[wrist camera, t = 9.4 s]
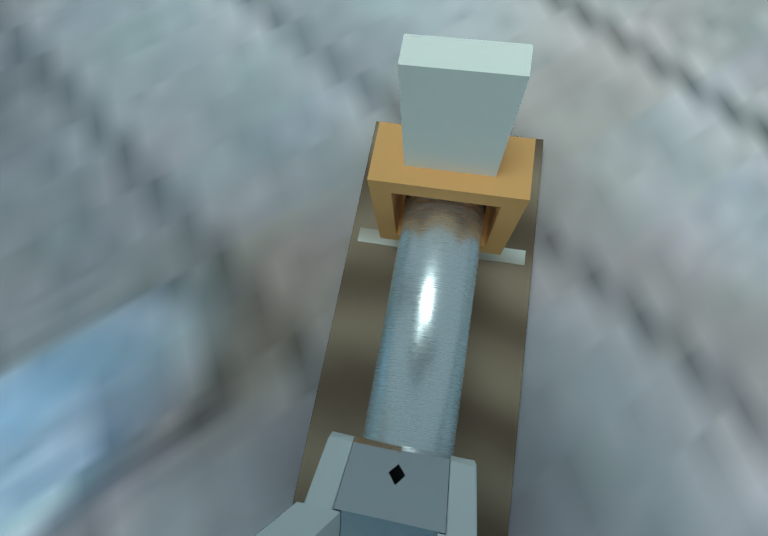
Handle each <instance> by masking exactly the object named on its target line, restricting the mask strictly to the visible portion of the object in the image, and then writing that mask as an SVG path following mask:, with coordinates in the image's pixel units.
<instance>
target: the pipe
mask: <svg viewBox="0 0 768 536" xmlns="http://www.w3.org/2000/svg"><path fill="white" fill-rule="evenodd" d="M405 203H406V205H405V210H404V215H403V221H402V226H401V232H400V237H399V242H398V248H397V253H396V259H395V264H394V269H393V275H392V280H391V286H390V291H389V297H388V302H387V307H386V313H385V318H384V324H383V329H382V334H381V340H380V345H379V351H378V356H377V361H376V367H375V372H374V378H373V383H372V388H371V394H370V399H369V405H368V410H367V416H366V421H365V426H364V432H363V437H362V438H366V439H370V440H375V441H379V442H383V443H388V444H392V445H396V446H400V447H402V446H405V447H411V448H416V449H421V450H427V451H432V452H437V453H443V454H448V455H449V457H450V456H453V455H454V447H455V439H456V432H457V424H458V416H459V408H460V400H461V392H462V384H463V377H464V369H465V361H466V353H467V345H468V337H469V329H470V322H471V314H472V306H473V298H474V290H475V282H476V274H477V266H478V259H479V251H480V243H481V235H482V227H483V219H484V214H485V211H486V205H479V204H471V203H464V202H456V201H448V200H441V199H433V198H425V197H418V196H410V195H406V199H405Z"/></svg>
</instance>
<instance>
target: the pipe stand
mask: <svg viewBox="0 0 768 536" xmlns="http://www.w3.org/2000/svg"><path fill="white" fill-rule="evenodd" d="M378 127H379V122H377V121H376V126H375V131H374V135H373V140H372V144H371V149H370V153H369V158H368V163H367V167H366V172H365V176H364V181H363V185H362V190H361V195H360V199H359V204H358V208H357V213H356V217H355V222H354V226H353V231H352V236H351V240H350V245H349V249H348V254H347V258H346V263H345V268H344V272H343V277H342V281H341V286H340V290H339V295H338V300H337V304H336V309H335V313H334V318H333V322H332V327H331V332H330V336H329V341H328V345H327V350H326V354H325V359H324V364H323V368H322V373H321V377H320V382H319V386H318V391H317V396H316V400H315V405H314V409H313V414H312V418H311V423H310V427H309V432H308V437H307V441H306V446H305V450H304V455H303V459H302V464H301V469H300V473H299V478H298V482H297V487H296V491H295V496H294V501H293V504H295V503H296V502H301V503H304V502H305V499H306V496H307V494H308V491H309V488H310V485H311V483H312V480H313V477H314V475H315V472H316V469H317V467H318V464H319V461H320V458H321V456H322V453H323V450H324V448H325V445H326V442H327V440H328V437H329V436H330V434H331V433H332V431H334V432H338V433H343V434H348V435H352V436H357V437H363V432H364V426H365V421H366V416H367V410H368V405H369V399H370V394H371V388H372V383H373V378H374V372H375V367H376V361H377V356H378V351H379V345H380V340H381V334H382V329H383V324H384V318H385V313H386V307H387V302H388V297H389V291H390V286H391V280H392V275H393V269H394V264H395V259H396V253H397V248H398V242H399V240H392V239H385V238H380V233H379V229H378V225H377V220H376V216H375V212H374V207H373V203H372V199H371V194H370V190H369V186H368V181H367V177H368V173H369V168H370V164H371V159H372V154H373V150H374V145H375V141H376V136H377V131H378ZM542 149H543V140H541V139H536V142H535V152H534V163H533V173H532V184H531V194H530V201H529V203H528V205H527V207H526V208H525V210H524V212H523V214H522V216H521V218H520V220H519V221H518V223H517V225H516V227H515V229H514V231H513V233H512V234H511V236H510V238H509V240H508V242H507V244H506V246H505V247H504V249H503V251H502V253H501V255H496V254H489V253H482V252H479V259H478V266H477V274H476V282H475V290H474V298H473V306H472V314H471V322H470V329H469V337H468V345H467V353H466V361H465V369H464V377H463V384H462V392H461V400H460V408H459V416H458V424H457V432H456V439H455V447H454V455H453V456H455V457H460V458H465V459H470V460H475V463H476V469H477V536H508V529H509V518H510V506H511V495H512V484H513V473H514V462H515V451H516V439H517V428H518V417H519V406H520V395H521V384H522V372H523V361H524V350H525V339H526V328H527V317H528V305H529V294H530V283H531V272H532V261H533V250H534V238H535V227H536V216H537V205H538V194H539V183H540V171H541V160H542Z"/></svg>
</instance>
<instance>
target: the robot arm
mask: <svg viewBox="0 0 768 536" xmlns="http://www.w3.org/2000/svg"><path fill="white" fill-rule="evenodd" d="M255 536H477V469H476V463H475V460H470V459H465V458H460V457H455V456H450V457H449V455H448V454H443V453H437V452H432V451H427V450H421V449H416V448H411V447H405V446H402V447H400V446H396V445H392V444H388V443H383V442H379V441H375V440H370V439H366V438H362V437H357V436H352V435H348V434H343V433H338V432H334V431H332V433H331V434H330V436H329V437H328V440H327V442H326V445H325V448H324V450H323V453H322V456H321V458H320V461H319V464H318V467H317V469H316V472H315V475H314V477H313V480H312V483H311V485H310V488H309V491H308V494H307V496H306V499H305V502H304V503H301V502H296V503H295V504H293V505H292V506H291V507H290V508H288V509H287V510H286V511H285V512H284V513H282V514H281V515H280V516H279V517H277V518H276V519H275V520H274V521H273V522H271V523H270V524H269V525H268V526H266V527H265V528H264V529H263V530H262V531H260V532H259V533H258V534H257V535H255Z"/></svg>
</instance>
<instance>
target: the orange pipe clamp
mask: <svg viewBox="0 0 768 536" xmlns="http://www.w3.org/2000/svg"><path fill="white" fill-rule="evenodd" d="M532 50H533V44H522V43H510V42H498V41H486V40H473V39H461V38H449V37H437V36H425V35H413V34H404V37H403V42H402V47H401V51H400V56H399V61H398V76H399V92H400V108H401V124H396V123H386V122H379V127H378V131H377V136H376V141H375V145H374V150H373V154H372V159H371V164H370V168H369V173H368V177H367V181H368V186H369V190H370V194H371V199H372V203H373V207H374V212H375V216H376V220H377V225H378V229H379V233H380V238H385V239H392V240H399V237H400V232H401V226H402V221H403V215H404V210H405V205H406V203H405V199H406V195H410V196H418V197H425V198H433V199H441V200H448V201H456V202H464V203H471V204H479V205H486V211H485V214H484V219H483V227H482V235H481V243H480V251H479V252H482V253H489V254H496V255H501V253H502V251H503V249H504V247H505V246H506V244H507V242H508V240H509V238H510V236H511V234H512V233H513V231H514V229H515V227H516V225H517V223H518V221H519V220H520V218H521V216H522V214H523V212H524V210H525V208H526V207H527V205H528V203H529V201H530V194H531V184H532V173H533V163H534V152H535V142H536V139H533V138H523V137H514V136H510V134H511V131H512V128H513V125H514V122H515V119H516V116H517V113H518V110H519V107H520V104H521V101H522V98H523V95H524V92H525V89H526V86H527V83H528V80H529V77H530V69H531V60H532Z"/></svg>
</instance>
